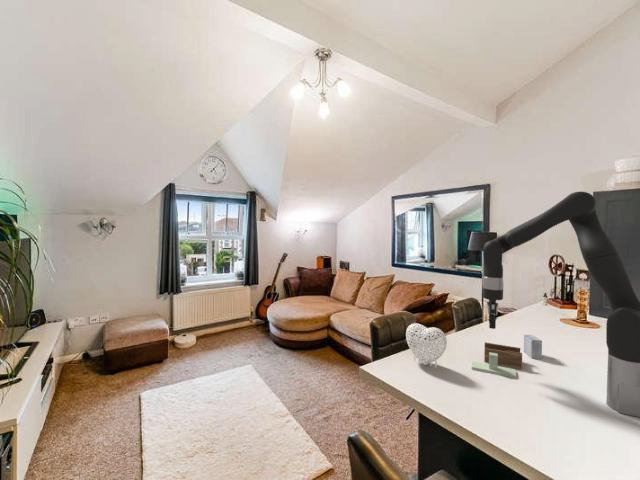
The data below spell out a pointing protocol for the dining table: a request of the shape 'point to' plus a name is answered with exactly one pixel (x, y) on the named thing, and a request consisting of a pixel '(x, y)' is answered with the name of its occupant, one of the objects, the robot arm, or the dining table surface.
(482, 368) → the lid
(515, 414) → the dining table surface
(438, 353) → the decorative heart
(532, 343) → the medicine box
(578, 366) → the dining table surface
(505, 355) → the box
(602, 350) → the dining table surface
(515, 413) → the dining table surface
